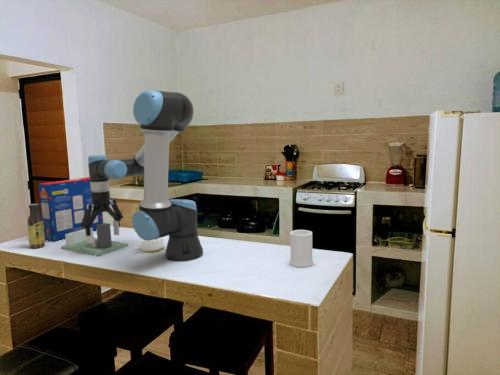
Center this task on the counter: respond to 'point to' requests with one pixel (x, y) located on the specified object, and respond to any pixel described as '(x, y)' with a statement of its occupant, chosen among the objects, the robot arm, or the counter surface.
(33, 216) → the sauce bottle
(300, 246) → the mug
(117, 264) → the counter surface
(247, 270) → the counter surface
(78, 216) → the pasta box
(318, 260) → the counter surface
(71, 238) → the pitch
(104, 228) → the striker
